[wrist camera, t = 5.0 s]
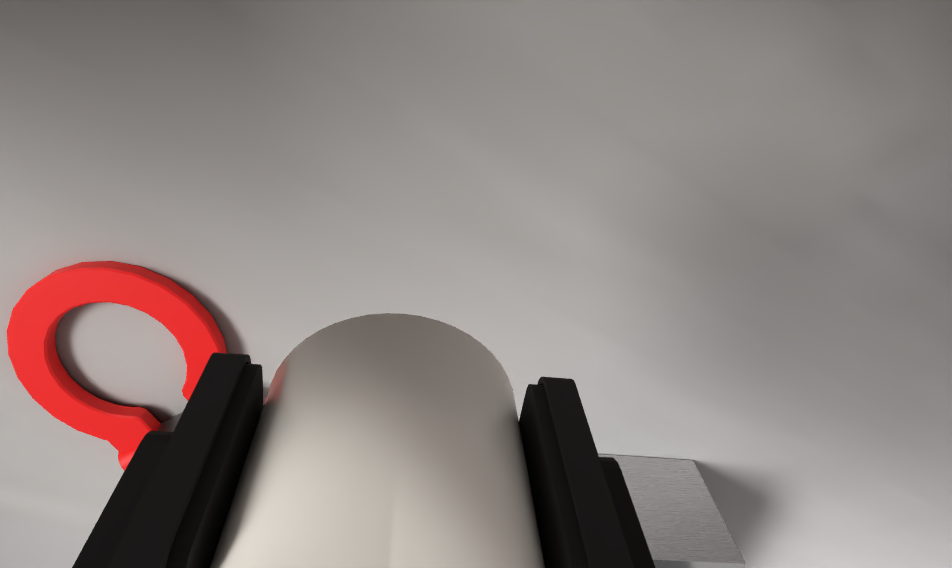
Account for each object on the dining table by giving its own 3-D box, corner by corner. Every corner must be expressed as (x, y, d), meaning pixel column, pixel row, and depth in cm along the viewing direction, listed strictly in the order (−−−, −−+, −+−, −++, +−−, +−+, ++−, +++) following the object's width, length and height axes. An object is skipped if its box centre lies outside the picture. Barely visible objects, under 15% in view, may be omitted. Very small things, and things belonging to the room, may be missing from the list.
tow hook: (-23, 315, 26) (134, 467, 30) (-398, 586, 14) (-65, 780, 18) (139, 219, 25) (283, 391, 28) (-131, 434, 13) (172, 678, 17)
